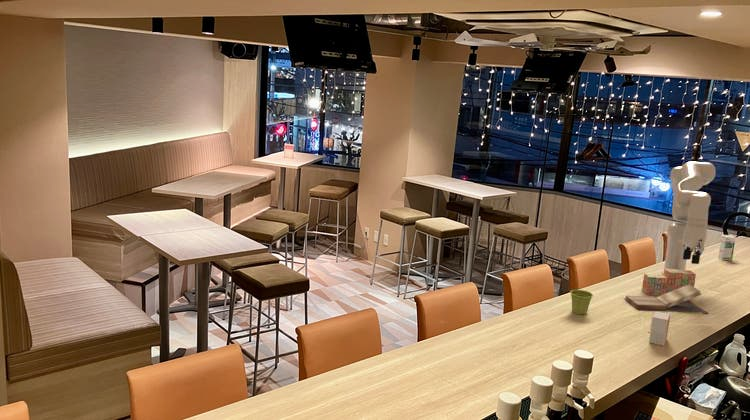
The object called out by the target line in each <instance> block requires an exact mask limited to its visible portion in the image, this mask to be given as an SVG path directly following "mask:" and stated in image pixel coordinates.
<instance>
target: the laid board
mask: <svg viewBox="0 0 750 420" xmlns="http://www.w3.org/2000/svg"><path fill="white" fill-rule="evenodd" d="M625 298H626V299H624V300H625V301H626V302H627V301H628V302H627V303H628V304H629V305H631V306H632V305H633V306H632V307H634V308H635V309H636V308H637V309H652V310H666V307H667V305H665V304H664V303H662V302H661V301H659V300H658V299H656V297H655V296H654V295H652V296H648V295H647V296H646V295H625ZM637 309H636V310H637Z"/></svg>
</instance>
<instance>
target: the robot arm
mask: <svg viewBox="0 0 750 420" xmlns="http://www.w3.org/2000/svg"><path fill="white" fill-rule="evenodd" d="M716 173H717V172H716V167H715V166H714V164H713V163H711V162H702V161H701V162H699V161H688V162H685V163H684V164H682V165H681V166H676V167H673V168H672V169H671V171H670V175H669V177H670V179H669V180H670V185H671V188H672V191H673V192H672V193H673V196H672V197H673V198H672V210H671V213H672V219H674V220H676V221H679V222H674V223H671V224H669V225H668V226H667V230H666V231H667V232H666V233H667V245H666V252H665V259H664V260H665V261H664V268H663V270H664V269H681V270H686V267H687V261H688V260H691V264H692V265H693V264H694V265H699V264H700V260H701V256H702V254H703V252H704V251H705V247H704V246H705V243H706V240H707V234H708V220H709V209H710V208H709V207H710V206H711V201H712V197H711V195H710V194H709V193H707V192H704V191H698V190H700V189H701V188H702V187H703V186H706V185H708V184H710V183H711V182H712V181H713V180H714V179H715V177H716ZM680 221H681V222H680ZM682 221H683V222H686V223H683V222H682ZM692 253H693V254H692ZM663 273H664V271H663V272H661V274H662V275H663Z"/></svg>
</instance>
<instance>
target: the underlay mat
mask: <svg viewBox="0 0 750 420" xmlns="http://www.w3.org/2000/svg"><path fill="white" fill-rule="evenodd" d="M625 299H626V297H624V298H623V300H625ZM626 302H627V303H629V302H628V301H626ZM631 306H632V307H634V306H633V305H631ZM635 309H636V310H638V311H639V312H655V311H656V312H662V313H666V312H667V313H668V312H669V313H670V312H671V313H697V314H698V313H700V314H703V315H704V314H706V315H709V312H708V311H706V310H705V309H704V308H702V307H700V306H698V305H697V304H695V303H694V302H692V301H690V299H689V300H687V301H684V302H682V303H679V304H676V305H674V306H671V307H669V308H666V310H652V309H637V308H635Z"/></svg>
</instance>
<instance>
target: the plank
mask: <svg viewBox="0 0 750 420" xmlns="http://www.w3.org/2000/svg"><path fill="white" fill-rule="evenodd" d="M699 296H702V293H701V290H700V289H697V288H696V287H695V286H694V287H693V286H691V285H686V286H684V287H681V288H679V289H676V290H673V291H671V292H668V293H666V294H663V295H657V296H656V297H655V298H656V299H658V300H659V301H661V302H662V303H664V304H665V305H667V307H666V308H669V307H671V306H674V305H676V304H679V303H682V302H684V301H687V300H689V301H690V300H691V299H694V298H697V297H699Z"/></svg>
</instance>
